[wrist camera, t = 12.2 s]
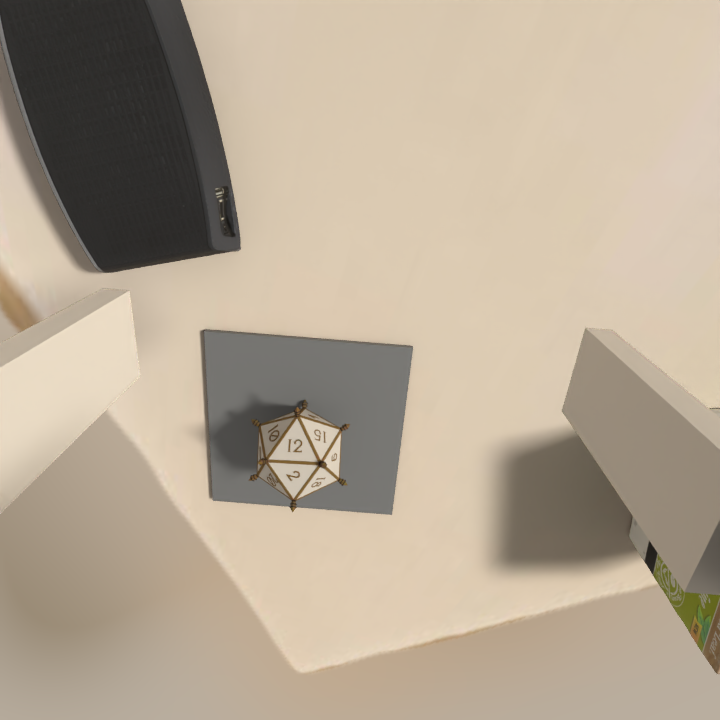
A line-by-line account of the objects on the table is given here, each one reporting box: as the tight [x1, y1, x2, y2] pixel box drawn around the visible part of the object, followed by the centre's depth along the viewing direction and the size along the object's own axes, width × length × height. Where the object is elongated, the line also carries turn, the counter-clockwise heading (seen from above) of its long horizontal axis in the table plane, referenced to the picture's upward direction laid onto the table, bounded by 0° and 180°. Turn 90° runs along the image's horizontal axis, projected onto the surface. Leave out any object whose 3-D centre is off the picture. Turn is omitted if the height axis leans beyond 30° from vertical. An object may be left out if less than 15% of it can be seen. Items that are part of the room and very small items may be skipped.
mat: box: [204, 329, 413, 515], centre depth 45 cm, size 18×18×1 cm
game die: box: [248, 400, 350, 512], centre depth 41 cm, size 9×8×10 cm
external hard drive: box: [0, 0, 241, 273], centre depth 35 cm, size 13×19×4 cm
